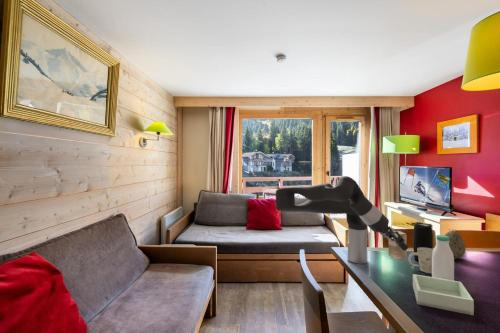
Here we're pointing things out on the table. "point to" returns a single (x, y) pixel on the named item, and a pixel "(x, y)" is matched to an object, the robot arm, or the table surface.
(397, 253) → the birch block
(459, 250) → the decorative egg
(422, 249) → the mug
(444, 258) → the milk bottle
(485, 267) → the table surface
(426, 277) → the bin
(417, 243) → the portable speaker
